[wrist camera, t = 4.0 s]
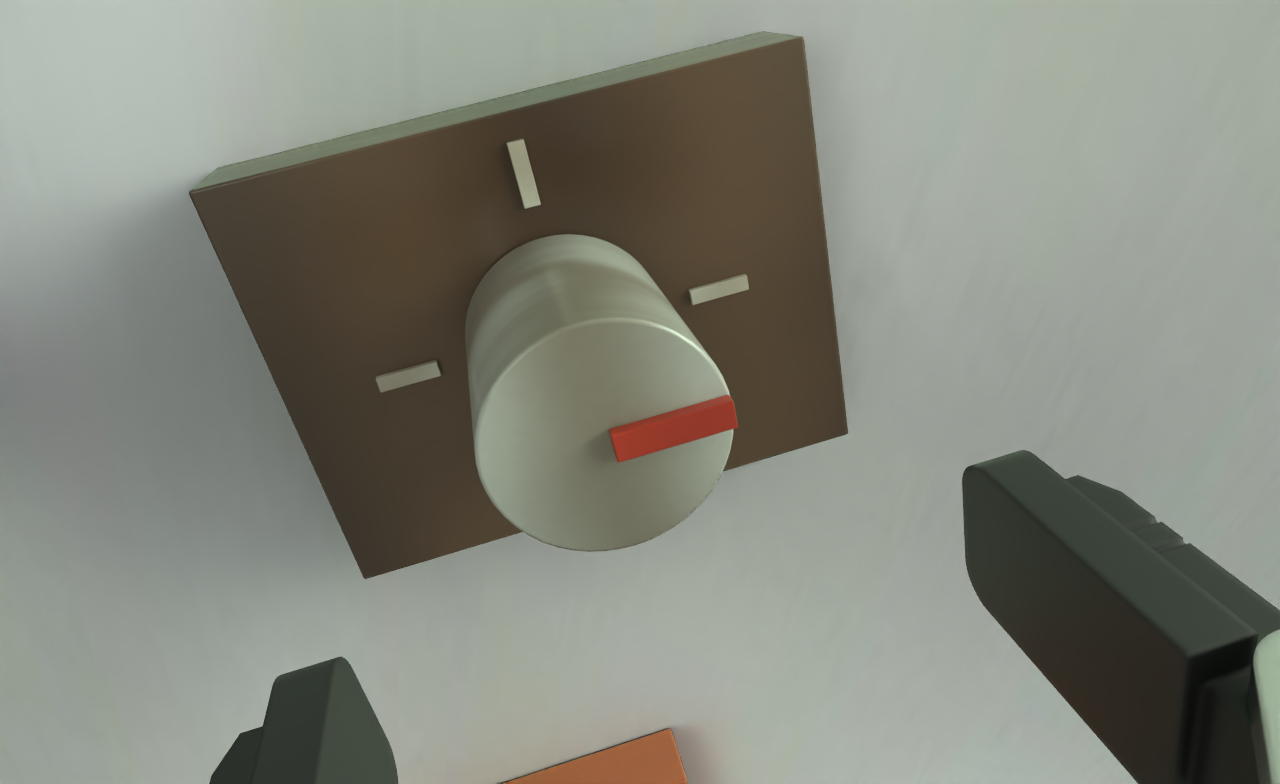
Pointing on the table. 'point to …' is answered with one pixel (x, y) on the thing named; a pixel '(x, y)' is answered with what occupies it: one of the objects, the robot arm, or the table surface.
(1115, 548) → the robot arm
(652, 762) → the button housing
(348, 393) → the dial panel
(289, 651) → the table surface
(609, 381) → the dial
